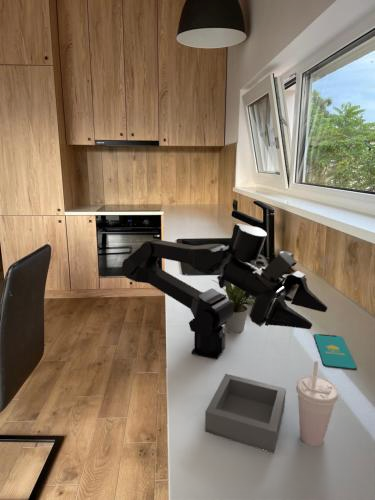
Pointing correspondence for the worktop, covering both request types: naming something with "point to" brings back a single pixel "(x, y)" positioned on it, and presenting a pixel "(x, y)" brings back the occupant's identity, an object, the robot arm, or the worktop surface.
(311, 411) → the smoothie
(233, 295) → the house plant
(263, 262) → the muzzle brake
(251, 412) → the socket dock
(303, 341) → the worktop surface
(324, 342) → the smartphone
